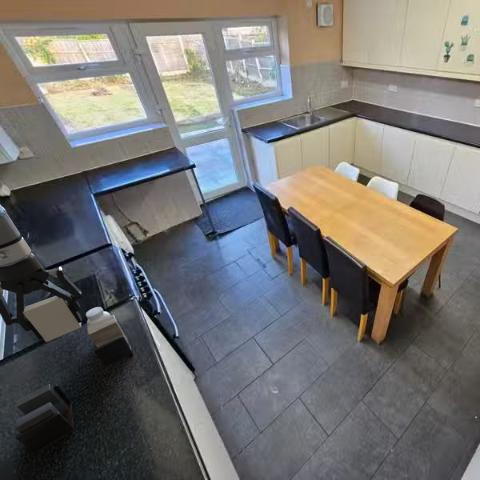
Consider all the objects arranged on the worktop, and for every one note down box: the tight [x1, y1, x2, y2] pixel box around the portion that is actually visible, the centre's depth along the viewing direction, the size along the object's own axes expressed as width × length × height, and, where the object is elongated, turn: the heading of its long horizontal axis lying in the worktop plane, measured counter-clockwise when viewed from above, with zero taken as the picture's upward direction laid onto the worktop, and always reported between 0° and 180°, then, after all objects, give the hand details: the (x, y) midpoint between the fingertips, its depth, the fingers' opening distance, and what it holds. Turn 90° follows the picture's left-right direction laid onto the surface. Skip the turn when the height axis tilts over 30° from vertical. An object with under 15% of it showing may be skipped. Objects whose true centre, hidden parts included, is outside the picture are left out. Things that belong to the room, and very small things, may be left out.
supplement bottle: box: [85, 306, 111, 326], centre depth 98 cm, size 7×7×13 cm
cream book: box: [23, 295, 82, 343], centre depth 73 cm, size 2×8×11 cm, turn 132°
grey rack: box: [14, 383, 75, 455], centre depth 72 cm, size 11×8×11 cm
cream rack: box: [86, 314, 134, 368], centre depth 92 cm, size 11×8×12 cm
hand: (61, 327), depth 75 cm, fingers closed on cream book, 8 cm apart
